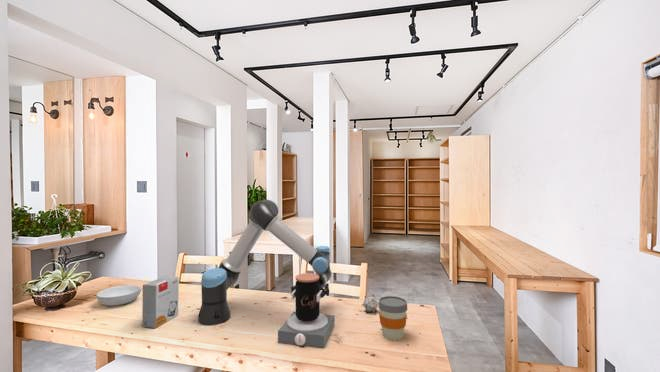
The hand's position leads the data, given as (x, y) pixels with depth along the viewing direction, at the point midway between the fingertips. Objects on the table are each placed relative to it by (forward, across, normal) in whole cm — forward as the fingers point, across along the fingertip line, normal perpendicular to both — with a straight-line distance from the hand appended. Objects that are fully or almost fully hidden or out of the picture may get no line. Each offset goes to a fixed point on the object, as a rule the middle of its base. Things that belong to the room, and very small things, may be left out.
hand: (304, 297), depth 133 cm
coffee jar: (-4, 0, -10) cm, 11 cm away
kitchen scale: (-4, 0, -18) cm, 18 cm away
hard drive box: (-1, +74, -18) cm, 76 cm away
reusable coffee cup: (-11, -37, -18) cm, 43 cm away
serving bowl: (-16, +115, -18) cm, 118 cm away
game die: (-34, -25, -18) cm, 46 cm away
